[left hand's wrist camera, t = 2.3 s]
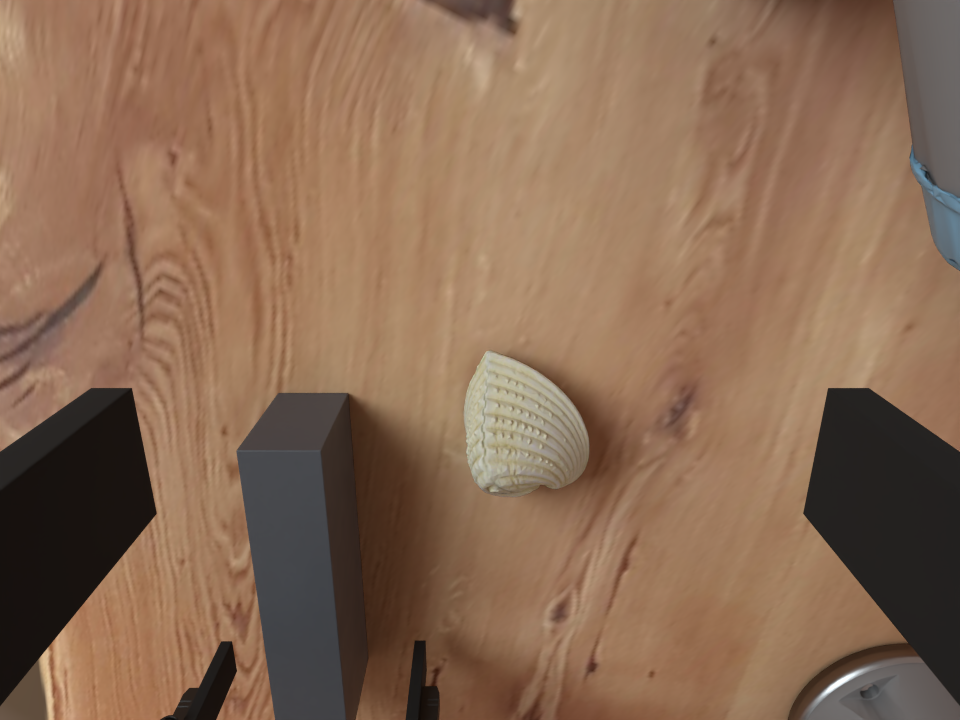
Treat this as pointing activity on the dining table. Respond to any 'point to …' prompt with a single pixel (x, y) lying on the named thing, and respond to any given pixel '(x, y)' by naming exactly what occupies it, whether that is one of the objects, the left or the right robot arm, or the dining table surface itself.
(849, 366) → the dining table surface
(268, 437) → the bar
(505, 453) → the seashell
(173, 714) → the right robot arm
